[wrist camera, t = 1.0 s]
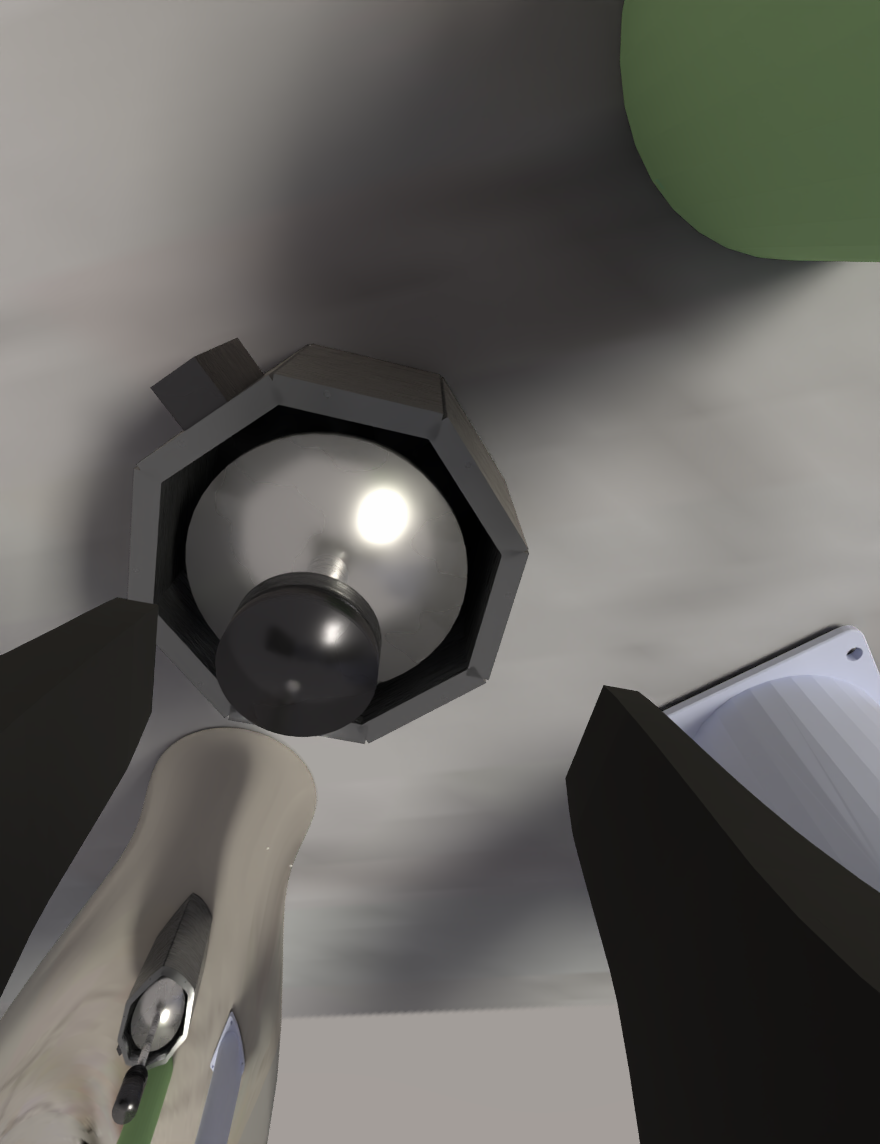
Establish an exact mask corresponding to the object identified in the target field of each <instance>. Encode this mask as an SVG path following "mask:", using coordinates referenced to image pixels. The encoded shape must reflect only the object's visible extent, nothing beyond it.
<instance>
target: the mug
mask: <svg viewBox="0 0 880 1144" xmlns="http://www.w3.org/2000/svg"><path fill="white" fill-rule="evenodd" d="M620 68H621V78H622V87H623V96H624V106H625V110H626V113H627V117H628V121H629V124H630V128H631V132H632V135H633V139H634V142H635V146H636V148H637V150H638V152H639V154H640V157H641V159H642V161H643V163H644V165H645V167H646V169H647V171H648V173H649V176H650V178H651V180H652V181H653V183H654V184H655V185H656V187H657V188H658V190H659V191H660V192H661V194H662V195H663V196H664V198H665V199H666V200H667V202H668V203H669V204H670V206H671V207H672V208H673V210H674V211H676V212H677V213H678V214H679V215H680V216H681V217H682V218H683V219H684V220H686V221H687V222H688V223H689V224H690V225H691V226H692V227H693V228H695V229H696V230H697V231H698V232H699V233H701V234H703V235H705V236H706V237H708V238H710V239H712V240H714V241H715V242H717V243H719V244H721V245H722V246H724V247H726V248H728V249H732V250H735V251H738V252H742V253H745V254H748V255H751V256H755V257H758V258H769V259H781V260H798V261H850V262H880V0H624V5H623V11H622V22H621V46H620Z"/></svg>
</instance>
